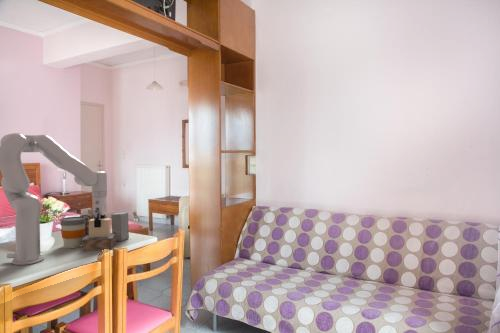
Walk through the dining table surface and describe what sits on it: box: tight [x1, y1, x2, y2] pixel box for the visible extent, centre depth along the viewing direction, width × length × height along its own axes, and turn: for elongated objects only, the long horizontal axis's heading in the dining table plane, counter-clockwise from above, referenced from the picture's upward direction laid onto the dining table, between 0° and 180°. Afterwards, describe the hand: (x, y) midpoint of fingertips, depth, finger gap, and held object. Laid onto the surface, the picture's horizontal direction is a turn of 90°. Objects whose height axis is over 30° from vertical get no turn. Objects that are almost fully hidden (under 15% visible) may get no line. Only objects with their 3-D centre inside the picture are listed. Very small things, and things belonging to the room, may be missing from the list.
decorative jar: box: [78, 208, 108, 238], centre depth 198 cm, size 12×12×18 cm
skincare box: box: [110, 212, 130, 242], centre depth 198 cm, size 8×7×16 cm
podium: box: [82, 232, 117, 251], centre depth 182 cm, size 15×13×6 cm
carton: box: [89, 217, 112, 237], centre depth 182 cm, size 10×5×9 cm, turn 102°
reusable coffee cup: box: [60, 216, 86, 249], centre depth 185 cm, size 13×13×15 cm
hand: (99, 225), depth 182 cm, fingers open, 9 cm apart
